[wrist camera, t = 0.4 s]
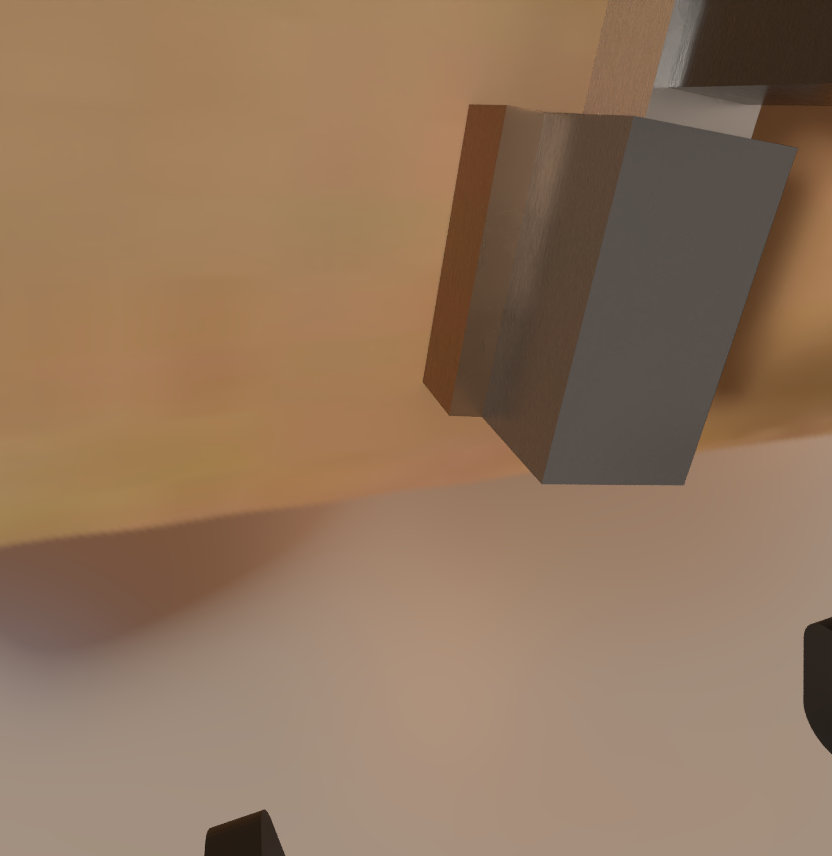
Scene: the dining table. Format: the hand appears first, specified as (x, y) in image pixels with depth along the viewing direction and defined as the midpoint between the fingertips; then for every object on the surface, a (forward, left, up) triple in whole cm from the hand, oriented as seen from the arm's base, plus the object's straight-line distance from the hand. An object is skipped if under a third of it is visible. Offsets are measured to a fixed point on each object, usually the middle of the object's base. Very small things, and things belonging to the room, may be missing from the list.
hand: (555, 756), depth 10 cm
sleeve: (-3, +10, -23) cm, 26 cm away
